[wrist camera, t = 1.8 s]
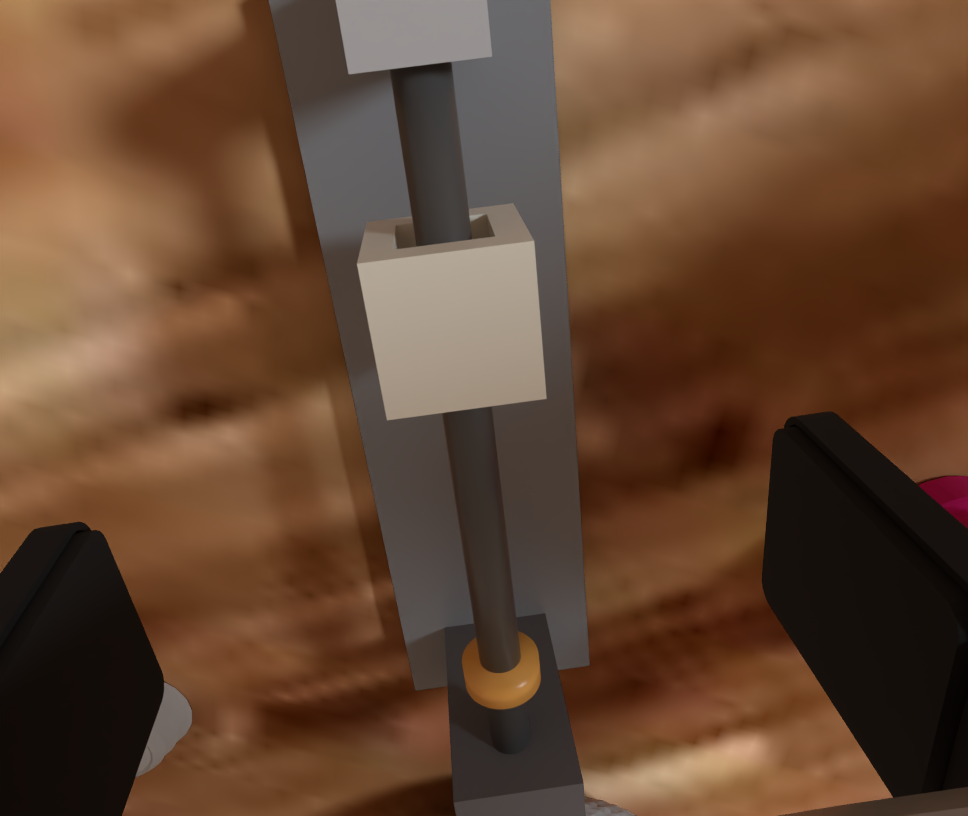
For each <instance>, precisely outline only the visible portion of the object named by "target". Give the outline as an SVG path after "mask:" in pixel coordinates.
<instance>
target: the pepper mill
mask: <svg viewBox="0 0 968 816" xmlns="http://www.w3.org/2000/svg"><path fill="white" fill-rule="evenodd" d="M918 486H919V487H920V488H922V489H923V490H924V491H925V492H926V493H927V494H928V495H930V496H931V497H932V498H933V499H934V500H935V501H936V502H938V503H939V504H940V505H941V506H942V507H943V508H944V509H946V510H947V511H948V512H949V513H950V514H951V515H952V516H954V517H955V518H956V519H957V520H958V521H959V522H960V523H962V524H963V525H964V526H965V527H966V528H967V529H968V477H967V476H946V477H942V478H938V479H935V480H931V481H928V482H924V483H922V484H920V485H918Z"/></svg>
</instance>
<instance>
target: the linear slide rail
mask: <svg viewBox="0 0 968 816" xmlns="http://www.w3.org/2000/svg"><path fill="white" fill-rule="evenodd" d="M269 5H270V10H271V14H272V19H273V24H274V28H275V33H276V38H277V42H278V47H279V52H280V57H281V61H282V66H283V71H284V75H285V80H286V85H287V90H288V94H289V99H290V104H291V108H292V113H293V118H294V122H295V127H296V132H297V137H298V141H299V146H300V151H301V155H302V160H303V165H304V169H305V174H306V179H307V184H308V188H309V193H310V198H311V202H312V207H313V212H314V216H315V221H316V226H317V231H318V235H319V240H320V245H321V249H322V254H323V259H324V264H325V268H326V273H327V278H328V282H329V287H330V292H331V296H332V301H333V306H334V311H335V315H336V320H337V325H338V329H339V334H340V339H341V343H342V348H343V353H344V358H345V362H346V367H347V372H348V376H349V381H350V386H351V390H352V395H353V400H354V405H355V409H356V414H357V419H358V423H359V428H360V433H361V438H362V442H363V447H364V452H365V456H366V461H367V466H368V470H369V475H370V480H371V485H372V489H373V494H374V499H375V503H376V508H377V513H378V517H379V522H380V527H381V532H382V536H383V541H384V546H385V550H386V555H387V560H388V564H389V569H390V574H391V579H392V583H393V588H394V593H395V597H396V602H397V607H398V612H399V616H400V621H401V626H402V630H403V635H404V640H405V644H406V649H407V654H408V659H409V663H410V668H411V673H412V677H413V682H414V687H415V691H418V690H424V689H431V688H438V687H445V686H448V704H449V724H450V743H451V763H452V782H453V802H454V807H455V812H456V816H586V812H585V799H584V785H583V779H582V775H581V770H580V766H579V761H578V757H577V753H576V748H575V744H574V739H573V735H572V730H571V726H570V721H569V717H568V712H567V708H566V703H565V699H564V694H563V690H562V686H561V681H560V677H559V672H558V670H563V669H570V668H577V667H584V666H590V661H589V645H588V628H587V611H586V594H585V577H584V560H583V543H582V527H581V510H580V493H579V476H578V459H577V442H576V426H575V409H574V392H573V375H572V358H571V341H570V324H569V308H568V291H567V274H566V257H565V240H564V223H563V207H562V190H561V173H560V156H559V139H558V122H557V105H556V89H555V72H554V55H553V38H552V21H551V4H550V0H269ZM511 203H513V204H514V206H515V207H516V209H517V211H518V213H519V214H520V216H521V218H522V220H523V222H524V223H525V225H526V227H527V229H528V231H529V232H530V234H531V236H532V238H533V239H534V244H535V257H536V270H537V283H538V295H539V308H540V321H541V334H542V346H543V359H544V372H545V385H546V397H547V399H542V400H534V401H527V402H519V403H512V404H505V405H497V406H490V407H483V408H475V409H468V410H460V411H453V412H446V413H438V414H431V415H423V416H416V417H409V418H401V419H394V420H387V418H386V413H385V408H384V402H383V397H382V392H381V387H380V382H379V376H378V371H377V366H376V361H375V356H374V350H373V345H372V340H371V335H370V330H369V324H368V319H367V314H366V309H365V304H364V298H363V293H362V288H361V283H360V278H359V272H358V267H357V261H358V257H359V253H360V249H361V244H362V240H363V236H364V232H365V228H366V223H367V222H371V221H379V220H387V219H394V218H402V217H410V216H412V220H413V227H414V233H415V240H416V246H417V247H418V246H425V245H433V244H441V243H449V242H456V241H464V240H472V233H471V225H470V216H469V209H472V208H480V207H488V206H495V205H503V204H511Z"/></svg>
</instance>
